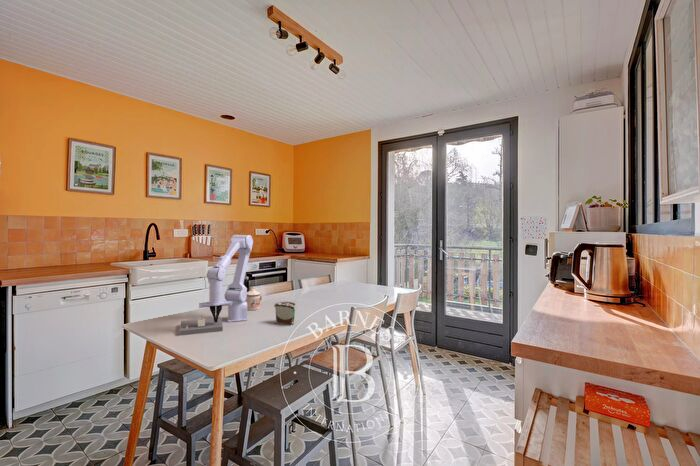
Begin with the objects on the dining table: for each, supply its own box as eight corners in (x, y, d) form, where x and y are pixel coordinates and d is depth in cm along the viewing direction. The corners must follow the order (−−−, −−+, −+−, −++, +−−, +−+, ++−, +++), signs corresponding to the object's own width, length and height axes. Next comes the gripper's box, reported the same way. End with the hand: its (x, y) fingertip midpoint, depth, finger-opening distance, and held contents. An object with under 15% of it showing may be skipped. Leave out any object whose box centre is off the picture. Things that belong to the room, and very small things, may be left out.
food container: (301, 322, 169) (301, 303, 169) (294, 326, 164) (294, 305, 163) (281, 319, 174) (281, 300, 174) (273, 322, 169) (274, 302, 168)
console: (221, 321, 168) (221, 317, 168) (222, 331, 154) (222, 326, 154) (181, 324, 161) (181, 320, 161) (178, 335, 147) (178, 330, 147)
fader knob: (204, 323, 157) (205, 315, 157) (204, 326, 153) (205, 318, 153) (198, 323, 156) (198, 316, 156) (197, 326, 152) (197, 318, 152)
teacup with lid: (252, 311, 188) (252, 291, 187) (240, 309, 192) (240, 289, 192) (267, 307, 198) (267, 287, 198) (256, 304, 203) (256, 285, 202)
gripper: (198, 295, 150) (198, 325, 151) (232, 293, 156) (232, 322, 156) (199, 292, 157) (198, 321, 157) (231, 290, 162) (231, 318, 163)
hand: (215, 321), depth 157 cm, fingers closed
